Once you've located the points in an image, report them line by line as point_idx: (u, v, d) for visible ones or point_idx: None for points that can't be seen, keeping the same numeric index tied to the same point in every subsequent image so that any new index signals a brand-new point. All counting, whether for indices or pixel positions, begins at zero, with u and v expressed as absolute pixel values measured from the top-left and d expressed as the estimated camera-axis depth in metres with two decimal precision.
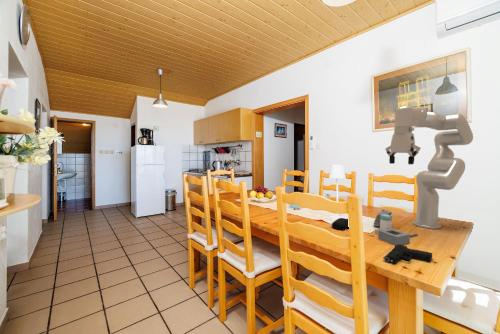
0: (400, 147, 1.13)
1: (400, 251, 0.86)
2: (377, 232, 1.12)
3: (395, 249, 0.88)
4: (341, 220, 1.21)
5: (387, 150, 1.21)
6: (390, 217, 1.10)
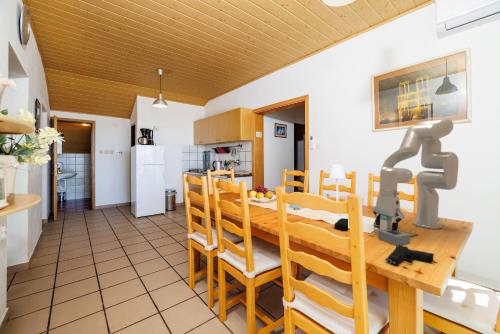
0: (385, 210, 1.09)
1: (402, 252, 0.85)
2: (377, 232, 1.12)
3: (396, 250, 0.87)
4: (343, 220, 1.20)
5: (373, 210, 1.16)
6: (390, 217, 1.10)
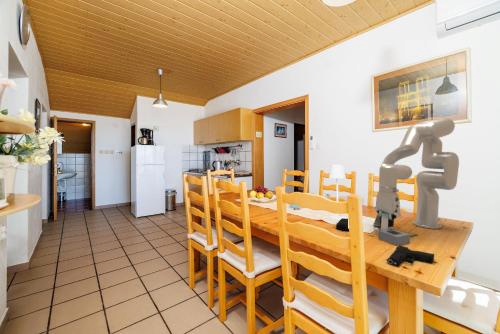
0: (385, 207, 1.09)
1: (402, 253, 0.85)
2: (377, 232, 1.12)
3: (397, 250, 0.87)
4: (345, 221, 1.20)
5: (376, 210, 1.16)
6: None
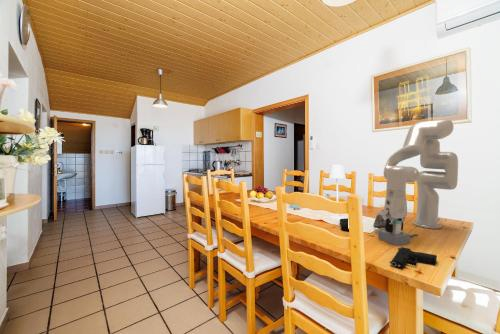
0: None
1: (405, 254, 0.83)
2: (377, 232, 1.12)
3: (399, 252, 0.85)
4: None
5: None
6: (394, 222, 1.02)
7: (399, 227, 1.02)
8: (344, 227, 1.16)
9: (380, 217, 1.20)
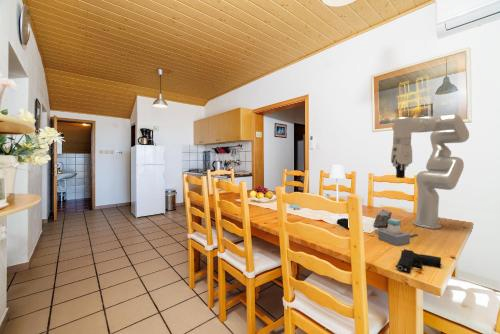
0: None
1: (410, 257, 0.81)
2: (377, 232, 1.12)
3: (404, 255, 0.83)
4: None
5: None
6: (393, 222, 1.02)
7: (398, 227, 1.02)
8: None
9: (380, 217, 1.20)
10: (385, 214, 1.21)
